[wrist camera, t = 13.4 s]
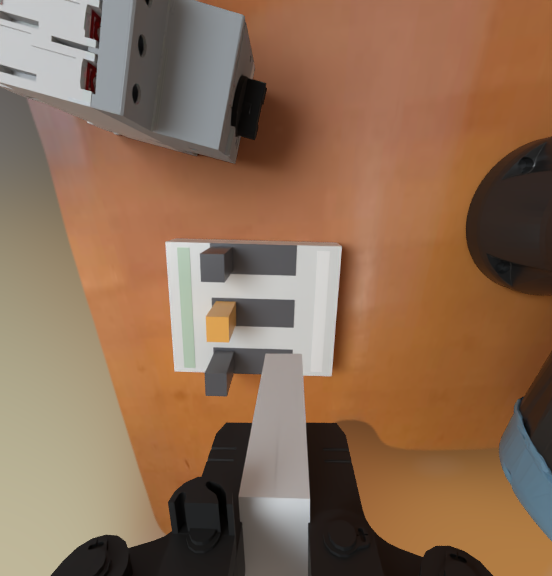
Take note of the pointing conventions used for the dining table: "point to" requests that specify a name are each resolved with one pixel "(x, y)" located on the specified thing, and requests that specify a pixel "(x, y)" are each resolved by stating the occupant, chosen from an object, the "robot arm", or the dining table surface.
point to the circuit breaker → (137, 69)
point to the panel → (257, 303)
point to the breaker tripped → (221, 321)
